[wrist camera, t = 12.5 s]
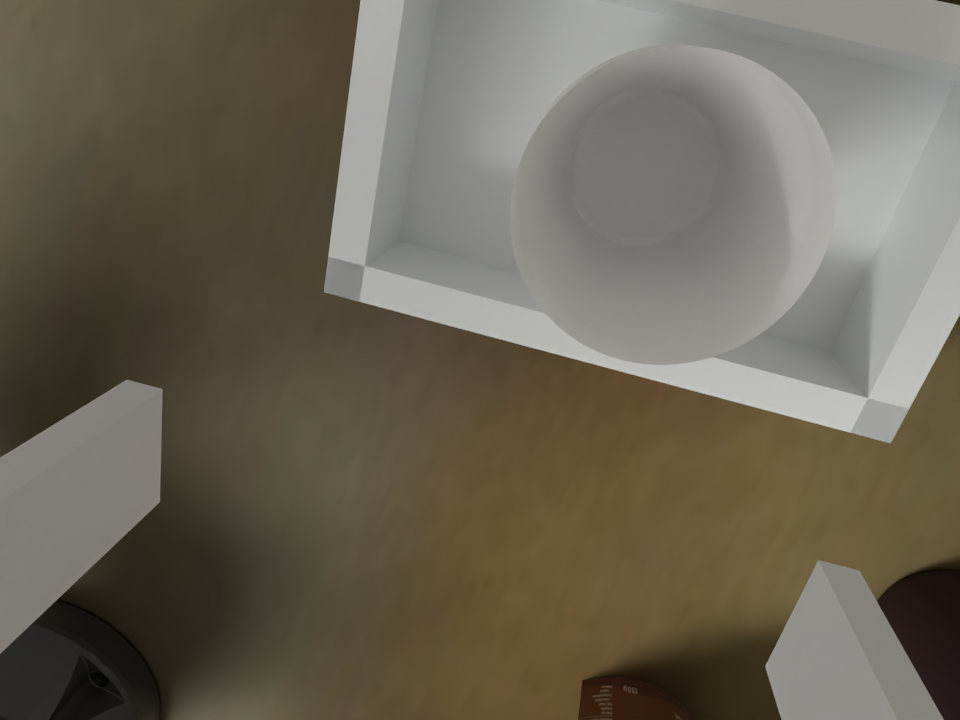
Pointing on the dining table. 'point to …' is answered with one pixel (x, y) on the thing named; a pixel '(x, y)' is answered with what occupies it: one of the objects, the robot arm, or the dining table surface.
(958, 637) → the wine bottle
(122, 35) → the dining table surface
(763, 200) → the cup
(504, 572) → the dining table surface
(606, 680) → the food container
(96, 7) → the dining table surface
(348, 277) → the bin
